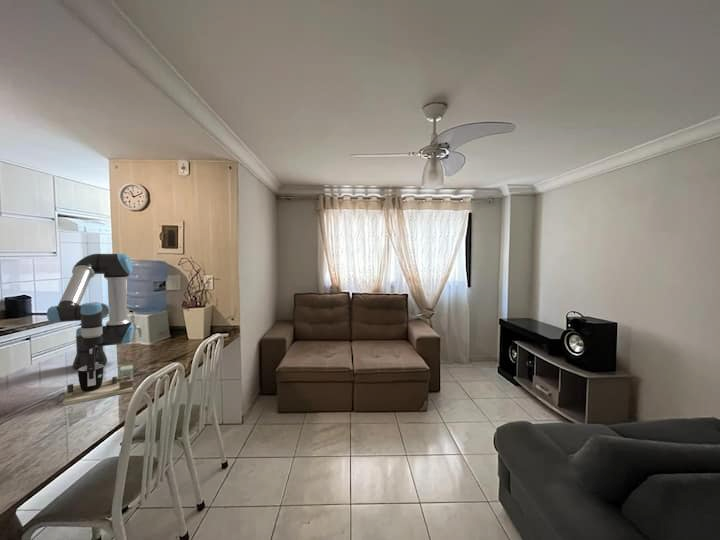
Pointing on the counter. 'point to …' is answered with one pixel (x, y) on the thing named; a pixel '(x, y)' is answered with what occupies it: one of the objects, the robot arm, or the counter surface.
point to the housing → (126, 369)
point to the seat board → (99, 390)
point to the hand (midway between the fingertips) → (93, 380)
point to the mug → (84, 381)
